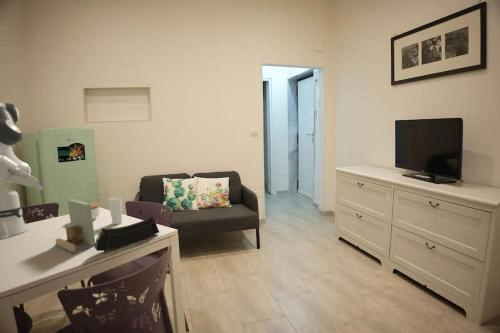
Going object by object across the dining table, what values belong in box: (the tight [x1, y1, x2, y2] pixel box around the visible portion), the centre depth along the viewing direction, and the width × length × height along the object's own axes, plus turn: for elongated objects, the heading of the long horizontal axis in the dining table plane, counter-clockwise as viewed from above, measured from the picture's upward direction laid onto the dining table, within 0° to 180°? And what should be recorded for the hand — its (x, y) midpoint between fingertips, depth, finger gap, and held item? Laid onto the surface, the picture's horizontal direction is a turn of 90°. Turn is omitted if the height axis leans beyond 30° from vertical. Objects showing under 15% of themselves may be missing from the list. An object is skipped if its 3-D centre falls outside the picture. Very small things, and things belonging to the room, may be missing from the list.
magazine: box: [94, 215, 160, 253], centre depth 137 cm, size 17×3×30 cm
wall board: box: [54, 198, 96, 255], centre depth 135 cm, size 10×18×21 cm, turn 57°
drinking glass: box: [108, 196, 123, 225], centre depth 166 cm, size 7×7×15 cm
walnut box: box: [65, 225, 84, 245], centre depth 136 cm, size 6×5×8 cm
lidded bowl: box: [86, 201, 101, 221], centre depth 174 cm, size 13×13×11 cm
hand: (37, 187), depth 122 cm, fingers open, 8 cm apart
